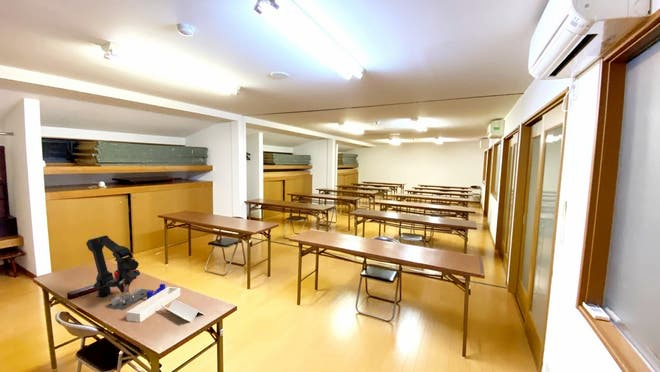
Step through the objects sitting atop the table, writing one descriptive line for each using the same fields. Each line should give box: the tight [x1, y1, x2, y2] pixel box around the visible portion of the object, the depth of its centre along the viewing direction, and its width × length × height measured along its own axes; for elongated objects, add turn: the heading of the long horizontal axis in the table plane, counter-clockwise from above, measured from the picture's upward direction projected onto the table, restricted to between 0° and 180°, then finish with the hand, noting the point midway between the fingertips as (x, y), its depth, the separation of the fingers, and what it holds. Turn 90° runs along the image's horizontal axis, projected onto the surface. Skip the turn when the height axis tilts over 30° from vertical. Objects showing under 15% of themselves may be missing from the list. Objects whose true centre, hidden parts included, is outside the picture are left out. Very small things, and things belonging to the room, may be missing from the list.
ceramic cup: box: [113, 269, 137, 284], centre depth 200 cm, size 13×17×10 cm
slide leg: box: [119, 284, 134, 299], centre depth 174 cm, size 8×3×9 cm, turn 79°
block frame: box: [125, 286, 181, 323], centre depth 168 cm, size 9×31×5 cm, turn 169°
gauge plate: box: [107, 287, 155, 311], centre depth 176 cm, size 12×22×5 cm, turn 169°
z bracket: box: [160, 298, 206, 323], centre depth 162 cm, size 12×25×6 cm
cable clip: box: [146, 283, 166, 300], centre depth 181 cm, size 12×4×6 cm, turn 169°
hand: (124, 291), depth 175 cm, fingers closed on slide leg, 3 cm apart
